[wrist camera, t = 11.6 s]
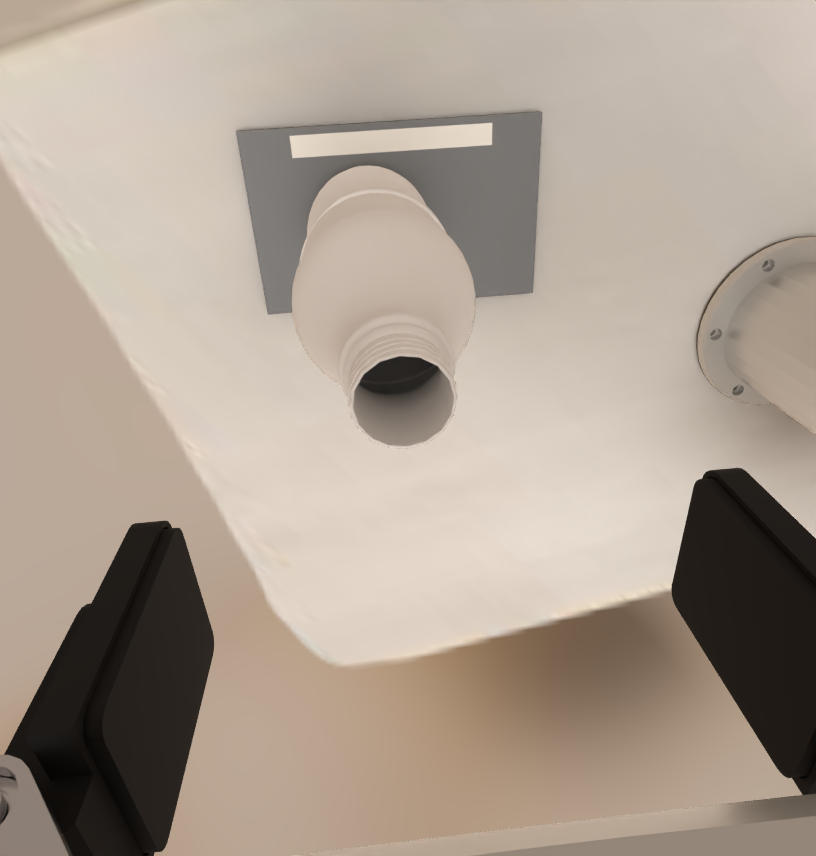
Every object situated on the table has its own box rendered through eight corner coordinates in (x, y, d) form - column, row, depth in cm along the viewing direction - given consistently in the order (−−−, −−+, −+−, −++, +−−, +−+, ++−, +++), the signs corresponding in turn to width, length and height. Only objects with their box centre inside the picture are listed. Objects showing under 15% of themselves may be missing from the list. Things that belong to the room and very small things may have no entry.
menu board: (539, 111, 36) (542, 111, 36) (530, 290, 42) (532, 293, 41) (237, 130, 35) (235, 131, 35) (269, 311, 41) (267, 314, 40)
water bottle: (301, 166, 36) (242, 286, 14) (420, 154, 36) (537, 256, 15) (319, 284, 40) (293, 522, 18) (427, 273, 40) (530, 494, 18)
